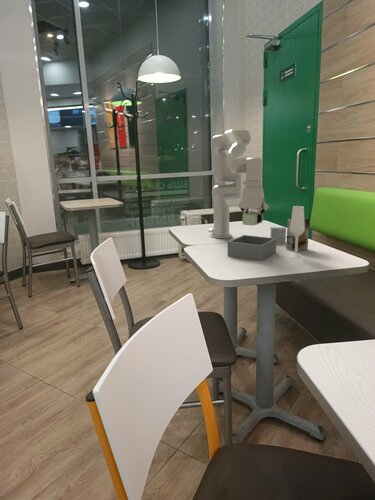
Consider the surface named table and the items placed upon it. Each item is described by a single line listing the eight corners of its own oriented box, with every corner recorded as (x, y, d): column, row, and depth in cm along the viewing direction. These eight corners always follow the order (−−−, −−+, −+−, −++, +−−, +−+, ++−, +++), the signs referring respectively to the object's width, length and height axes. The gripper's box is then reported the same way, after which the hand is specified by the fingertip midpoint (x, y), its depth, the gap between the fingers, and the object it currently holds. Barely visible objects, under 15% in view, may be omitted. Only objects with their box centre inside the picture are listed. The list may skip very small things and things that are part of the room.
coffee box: (292, 251, 179) (293, 220, 175) (285, 248, 185) (287, 218, 181) (308, 249, 182) (310, 218, 178) (301, 247, 188) (302, 217, 184)
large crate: (227, 256, 174) (227, 241, 172) (243, 248, 189) (243, 235, 187) (261, 260, 164) (262, 245, 163) (276, 252, 179) (276, 238, 177)
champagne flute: (304, 255, 171) (307, 206, 165) (301, 259, 166) (304, 207, 160) (290, 254, 175) (292, 205, 169) (286, 257, 169) (289, 207, 163)
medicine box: (284, 241, 201) (284, 226, 199) (285, 243, 197) (286, 228, 195) (270, 241, 202) (270, 226, 200) (271, 243, 198) (271, 228, 195)
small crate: (242, 224, 170) (242, 214, 169) (251, 221, 178) (251, 211, 177) (254, 225, 167) (254, 215, 166) (262, 222, 175) (262, 212, 174)
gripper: (233, 184, 170) (233, 221, 174) (267, 185, 160) (266, 224, 165) (240, 183, 176) (240, 219, 180) (273, 184, 166) (272, 222, 171)
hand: (252, 221), depth 172 cm, fingers closed on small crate, 6 cm apart
